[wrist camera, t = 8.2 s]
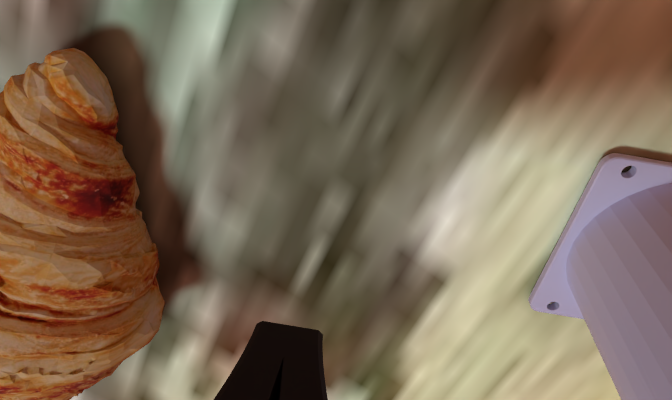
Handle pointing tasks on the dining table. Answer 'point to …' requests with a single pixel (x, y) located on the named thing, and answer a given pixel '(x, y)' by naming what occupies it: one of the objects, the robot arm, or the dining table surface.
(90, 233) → the croissant
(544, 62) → the dining table surface
